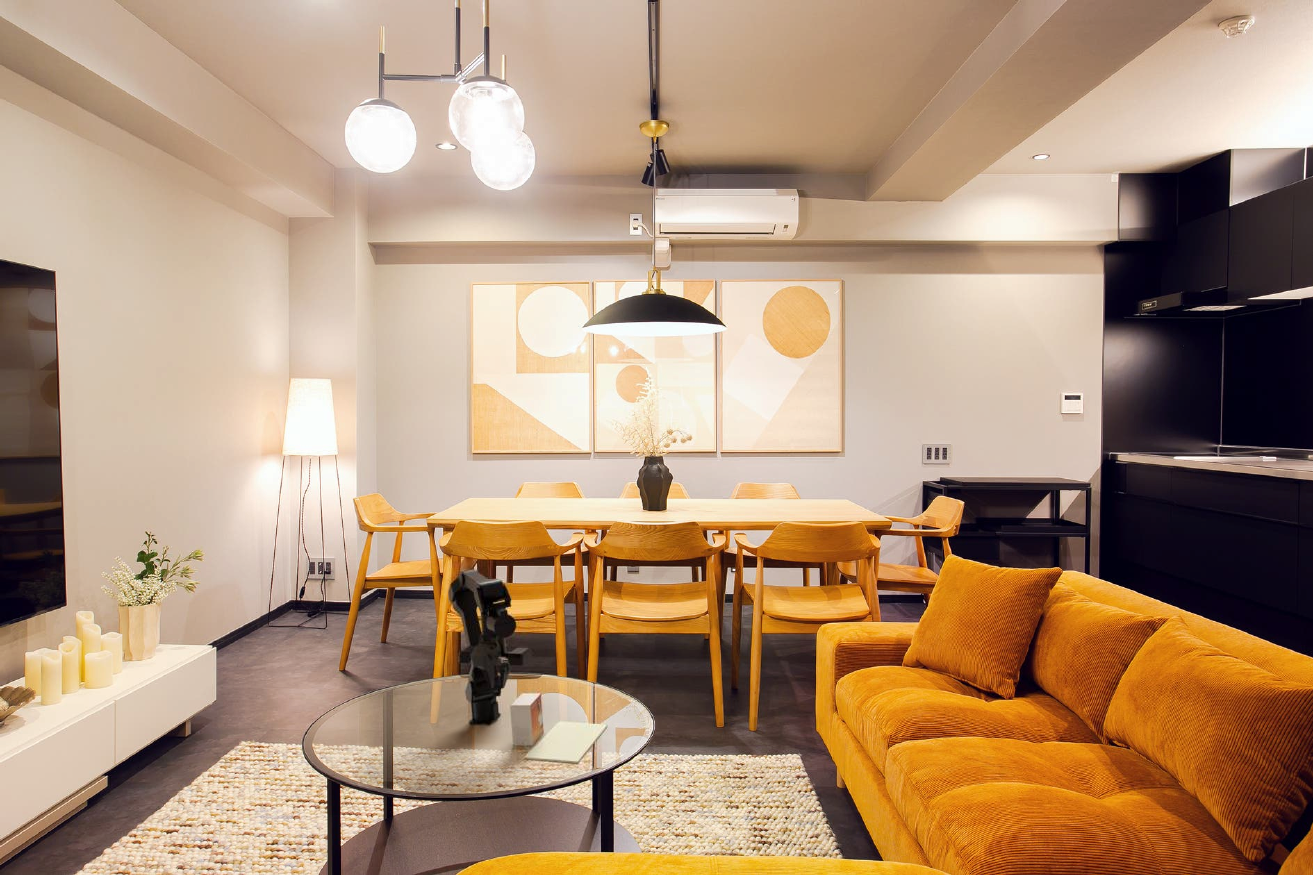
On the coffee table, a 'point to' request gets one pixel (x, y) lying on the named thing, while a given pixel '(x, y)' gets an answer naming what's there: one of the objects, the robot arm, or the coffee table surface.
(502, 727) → the coffee table surface
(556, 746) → the mat
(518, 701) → the small box
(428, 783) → the coffee table surface
